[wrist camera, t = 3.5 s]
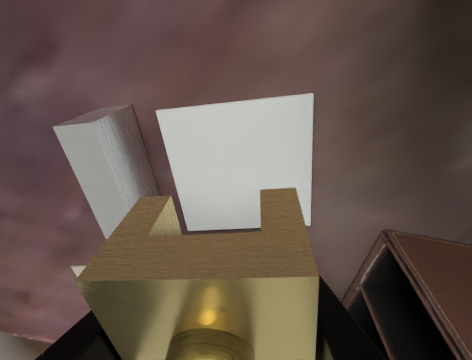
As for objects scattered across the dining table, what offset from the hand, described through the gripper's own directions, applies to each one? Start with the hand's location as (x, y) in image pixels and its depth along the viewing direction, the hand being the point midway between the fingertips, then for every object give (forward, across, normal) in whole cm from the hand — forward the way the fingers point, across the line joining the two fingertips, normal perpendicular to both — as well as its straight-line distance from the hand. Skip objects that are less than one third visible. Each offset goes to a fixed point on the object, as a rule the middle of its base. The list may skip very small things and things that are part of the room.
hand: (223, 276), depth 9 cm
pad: (+8, 0, 0) cm, 8 cm away
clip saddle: (+1, 0, 0) cm, 1 cm away
